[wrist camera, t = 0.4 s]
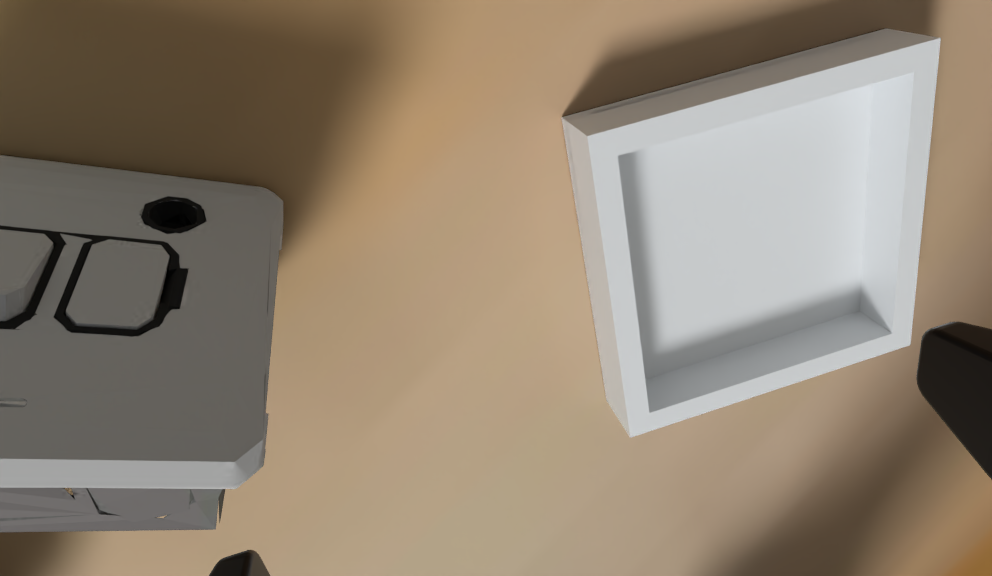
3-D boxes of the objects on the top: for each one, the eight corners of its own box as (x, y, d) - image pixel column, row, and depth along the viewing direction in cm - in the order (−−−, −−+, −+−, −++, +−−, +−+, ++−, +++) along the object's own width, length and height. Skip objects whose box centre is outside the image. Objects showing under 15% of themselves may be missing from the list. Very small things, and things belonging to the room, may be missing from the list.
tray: (868, 315, 28) (910, 345, 26) (606, 400, 27) (630, 437, 25) (886, 28, 23) (940, 37, 21) (561, 117, 22) (587, 135, 20)
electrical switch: (288, 184, 21) (272, 392, 13) (274, 331, 23) (253, 578, 15) (-101, 135, 18) (-413, 362, 10) (-70, 308, 20) (-302, 594, 13)
